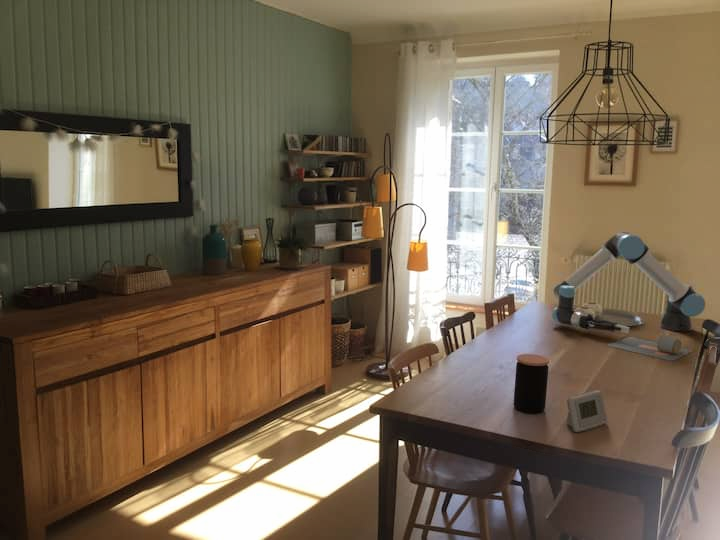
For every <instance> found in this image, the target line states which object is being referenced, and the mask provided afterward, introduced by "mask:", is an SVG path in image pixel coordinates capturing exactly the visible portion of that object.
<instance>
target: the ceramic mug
mask: <svg viewBox="0 0 720 540" xmlns="http://www.w3.org/2000/svg"><path fill="white" fill-rule="evenodd" d="M656 343H657V349H658V350H660V351H664V352H667V353H671V354H677V353H678V352H679V351H680V349H681V348H682V342H681V340H680V339H679V338H677V337H674V336H670V335H667V334H664V333H662V334H661V335H660V336H659V337H658V338H657V341H656Z"/></svg>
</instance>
